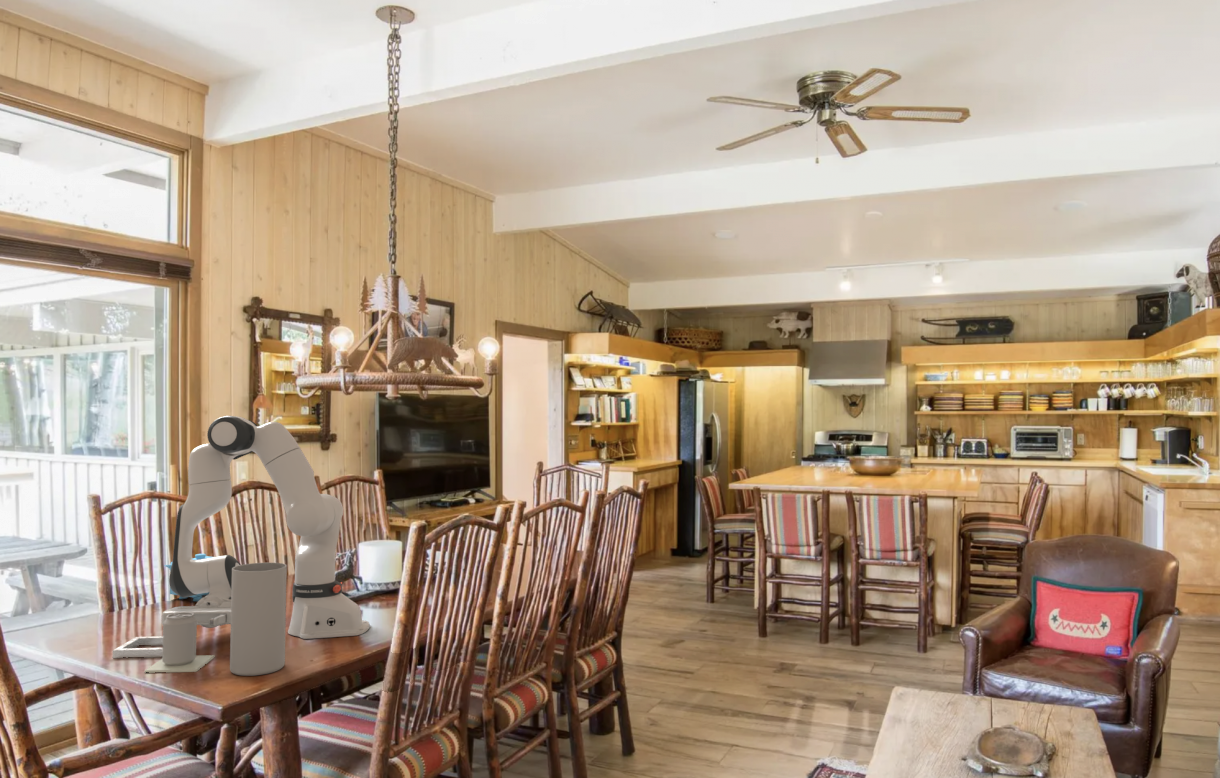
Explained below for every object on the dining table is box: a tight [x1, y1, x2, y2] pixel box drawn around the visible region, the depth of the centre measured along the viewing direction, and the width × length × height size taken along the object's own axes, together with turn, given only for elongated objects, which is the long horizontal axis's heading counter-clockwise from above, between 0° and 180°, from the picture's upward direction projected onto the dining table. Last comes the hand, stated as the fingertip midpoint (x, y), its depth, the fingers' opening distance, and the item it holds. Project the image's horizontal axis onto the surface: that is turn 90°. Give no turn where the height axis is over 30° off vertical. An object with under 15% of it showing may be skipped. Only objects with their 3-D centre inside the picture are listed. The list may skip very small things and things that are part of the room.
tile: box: [144, 654, 215, 674], centre depth 208 cm, size 12×12×1 cm
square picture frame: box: [112, 635, 163, 659], centre depth 221 cm, size 13×13×2 cm
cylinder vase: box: [229, 562, 288, 677], centre depth 206 cm, size 12×12×25 cm
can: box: [161, 612, 198, 666], centre depth 208 cm, size 8×8×12 cm
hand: (193, 622), depth 216 cm, fingers open, 8 cm apart
